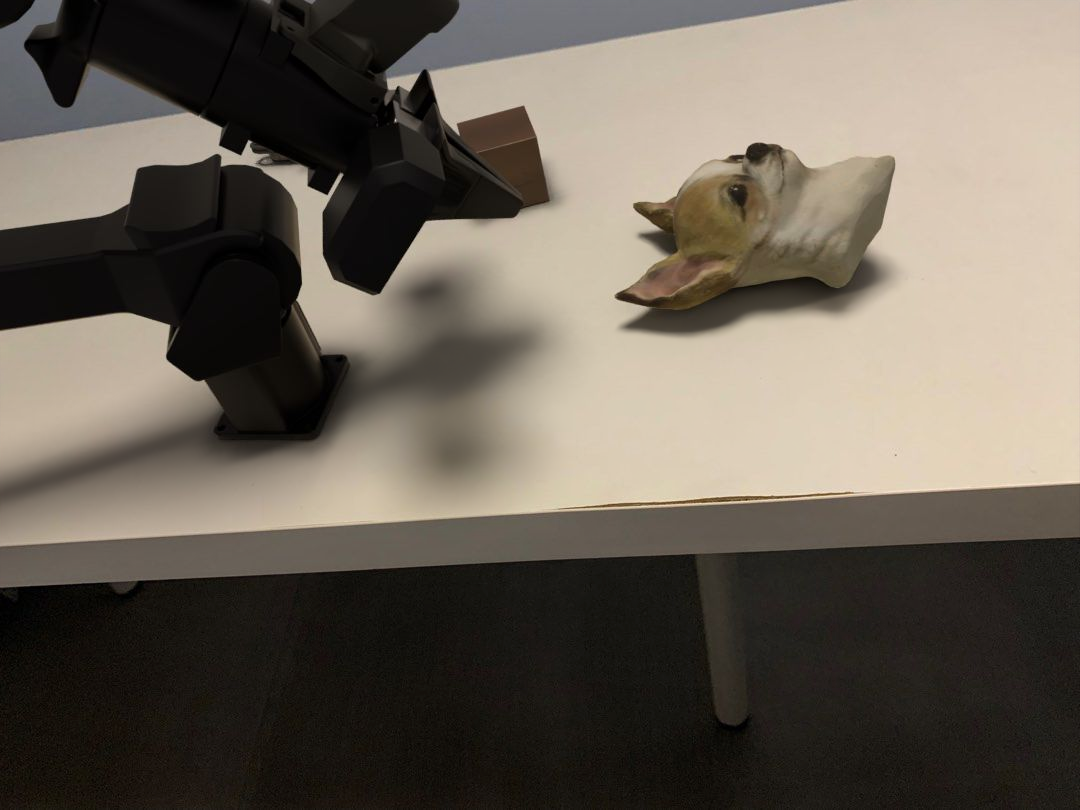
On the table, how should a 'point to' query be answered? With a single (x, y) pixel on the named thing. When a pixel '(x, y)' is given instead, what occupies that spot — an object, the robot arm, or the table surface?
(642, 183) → the table surface
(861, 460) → the table surface
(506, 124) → the walnut block
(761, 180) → the ceramic sculpture
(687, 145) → the table surface
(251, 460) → the table surface
